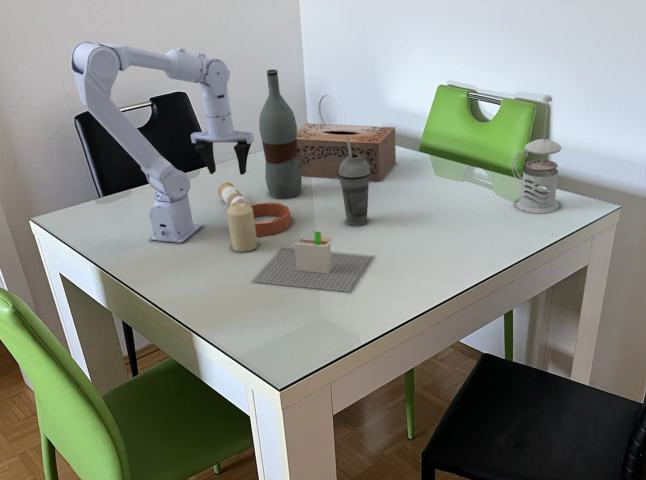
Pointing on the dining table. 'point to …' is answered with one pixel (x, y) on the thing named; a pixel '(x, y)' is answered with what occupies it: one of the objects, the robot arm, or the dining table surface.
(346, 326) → the dining table surface
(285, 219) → the orange faceted bracelet
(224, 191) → the sprinkles bottle
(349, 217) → the beverage cup
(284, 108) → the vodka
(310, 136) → the tissue box cover
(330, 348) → the dining table surface
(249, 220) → the candle
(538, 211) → the french press
